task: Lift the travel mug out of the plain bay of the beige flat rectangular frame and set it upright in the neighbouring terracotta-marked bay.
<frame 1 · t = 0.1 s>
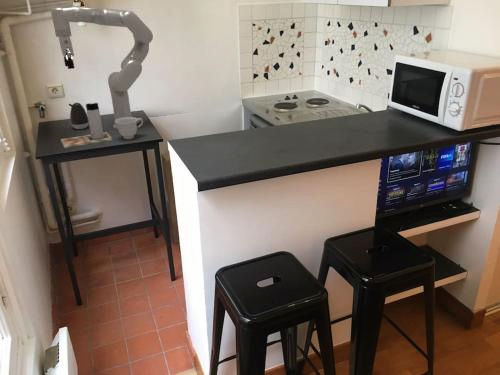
hand: (69, 67, 224), 37 cm above the table, tool pointing down, fingers open, 9 cm apart
teacup: (131, 137, 232), on the table
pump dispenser: (81, 128, 249), on the table
travel mug: (98, 139, 230), resting in beige flat rectangular frame
beige flat rectangular frame: (86, 140, 227), on the table
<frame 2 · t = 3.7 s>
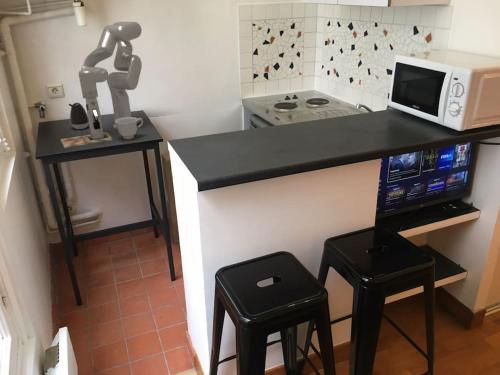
hand: (95, 127, 227), 7 cm above the table, tool pointing down, fingers open, 6 cm apart
travel mug: (98, 139, 230), resting in beige flat rectangular frame, touching gripper
everything else where it was.
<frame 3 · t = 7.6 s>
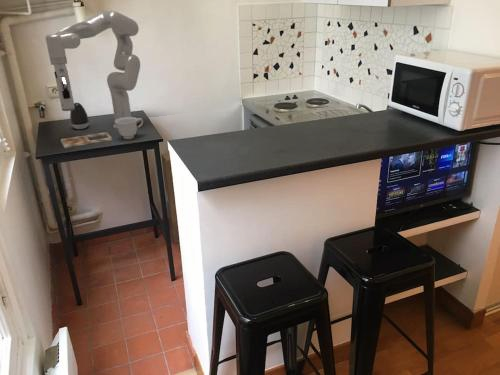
hand: (66, 96, 214), 25 cm above the table, tool pointing down, fingers closed on travel mug, 6 cm apart
travel mug: (68, 110, 217), point 18 cm above the table, touching gripper
everything else where it was.
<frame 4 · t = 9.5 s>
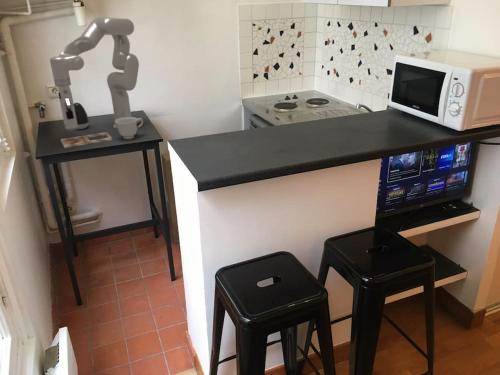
hand: (69, 116, 218), 14 cm above the table, tool pointing down, fingers closed on travel mug, 6 cm apart
travel mug: (72, 129, 221), point 7 cm above the table, touching gripper
everything else where it was.
when the fingers open (8 cm above the table, at t = 11.2 s): travel mug drops 1 cm, resting on beige flat rectangular frame.
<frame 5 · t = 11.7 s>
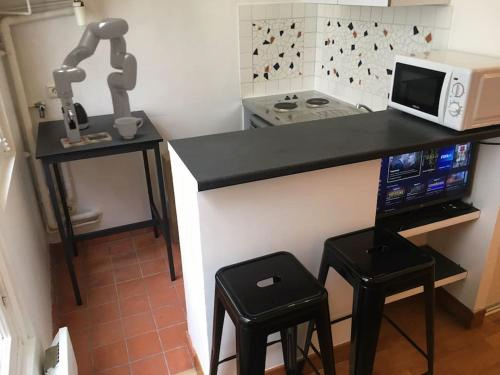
hand: (71, 126, 221), 9 cm above the table, tool pointing down, fingers open, 9 cm apart
travel mug: (75, 142, 224), resting on beige flat rectangular frame
everything else where it was.
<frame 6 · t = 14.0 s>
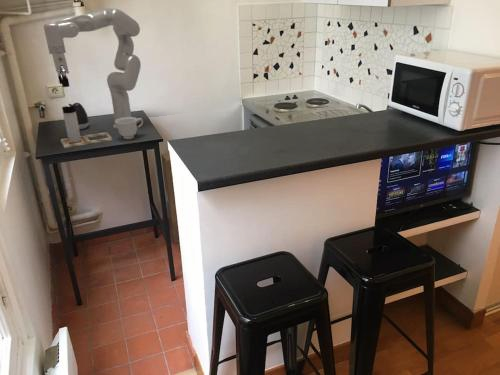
hand: (64, 85, 213), 30 cm above the table, tool pointing down, fingers open, 9 cm apart
nothing on the table moved.
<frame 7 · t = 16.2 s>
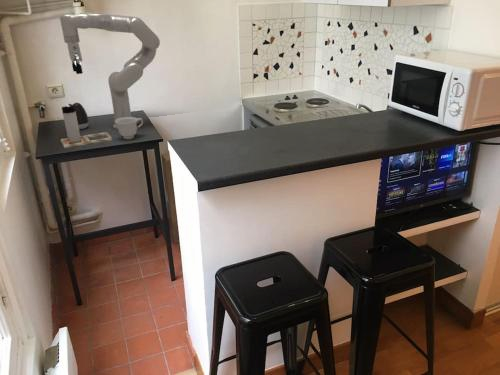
hand: (78, 72, 229), 33 cm above the table, tool pointing down, fingers open, 9 cm apart
nothing on the table moved.
at the end: travel mug 0.3 cm from the target spot, resting on beige flat rectangular frame; travel mug tilted 0°; the gripper is holding nothing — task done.
